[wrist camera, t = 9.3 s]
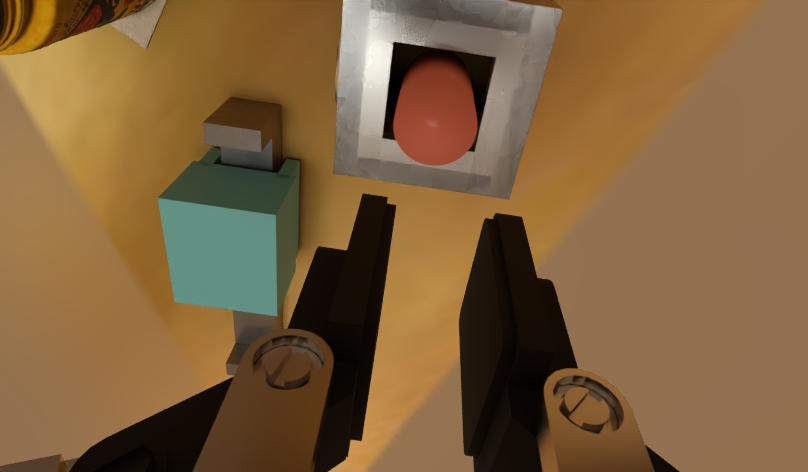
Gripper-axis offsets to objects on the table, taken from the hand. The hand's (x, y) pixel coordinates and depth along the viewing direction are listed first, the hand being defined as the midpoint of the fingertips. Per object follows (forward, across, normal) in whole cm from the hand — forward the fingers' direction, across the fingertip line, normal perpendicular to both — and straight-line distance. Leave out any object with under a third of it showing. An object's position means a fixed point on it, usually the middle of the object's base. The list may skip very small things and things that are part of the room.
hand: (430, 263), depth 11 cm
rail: (+19, +10, +14) cm, 26 cm away
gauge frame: (+19, 0, 0) cm, 19 cm away
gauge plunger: (+13, 0, 0) cm, 13 cm away
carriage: (+19, +10, +11) cm, 24 cm away
